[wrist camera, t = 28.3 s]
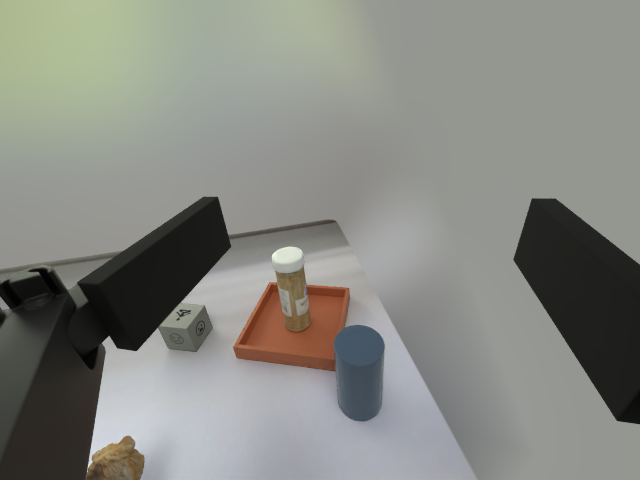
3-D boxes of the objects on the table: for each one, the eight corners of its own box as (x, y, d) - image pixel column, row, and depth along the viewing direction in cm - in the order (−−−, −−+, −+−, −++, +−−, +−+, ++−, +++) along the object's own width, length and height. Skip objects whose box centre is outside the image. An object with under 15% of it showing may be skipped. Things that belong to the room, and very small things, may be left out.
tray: (349, 298, 53) (349, 287, 52) (337, 371, 40) (336, 359, 39) (271, 292, 56) (269, 282, 55) (236, 357, 43) (233, 346, 42)
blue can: (382, 381, 38) (384, 327, 33) (381, 425, 33) (384, 369, 29) (341, 376, 39) (337, 322, 34) (334, 417, 35) (329, 362, 30)
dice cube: (212, 327, 49) (204, 305, 47) (196, 351, 45) (186, 328, 42) (186, 324, 50) (177, 303, 48) (168, 348, 46) (157, 325, 43)
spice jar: (314, 329, 46) (305, 259, 39) (285, 335, 45) (272, 265, 39) (309, 310, 50) (300, 243, 43) (283, 315, 49) (270, 248, 43)
